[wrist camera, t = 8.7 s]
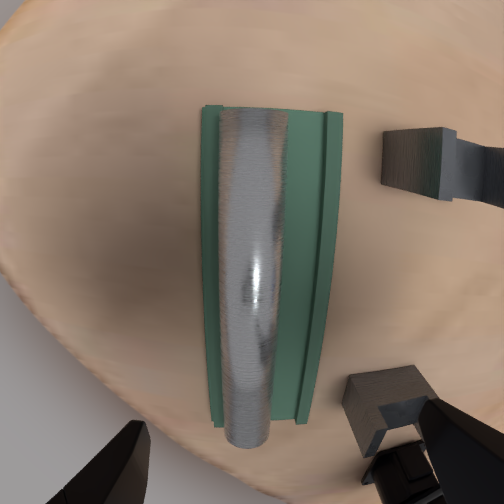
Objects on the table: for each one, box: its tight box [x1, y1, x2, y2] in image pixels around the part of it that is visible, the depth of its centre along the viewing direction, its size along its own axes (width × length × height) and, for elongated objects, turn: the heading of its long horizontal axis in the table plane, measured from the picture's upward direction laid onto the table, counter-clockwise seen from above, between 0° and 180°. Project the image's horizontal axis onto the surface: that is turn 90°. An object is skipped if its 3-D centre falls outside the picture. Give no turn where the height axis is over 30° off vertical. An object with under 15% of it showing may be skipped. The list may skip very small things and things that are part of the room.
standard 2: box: [342, 365, 440, 458], centre depth 18 cm, size 3×6×6 cm, turn 88°
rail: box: [218, 108, 289, 449], centre depth 15 cm, size 19×3×3 cm
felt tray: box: [201, 105, 343, 427], centre depth 17 cm, size 20×7×1 cm, turn 179°
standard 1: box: [381, 127, 504, 208], centre depth 13 cm, size 3×6×6 cm, turn 89°
